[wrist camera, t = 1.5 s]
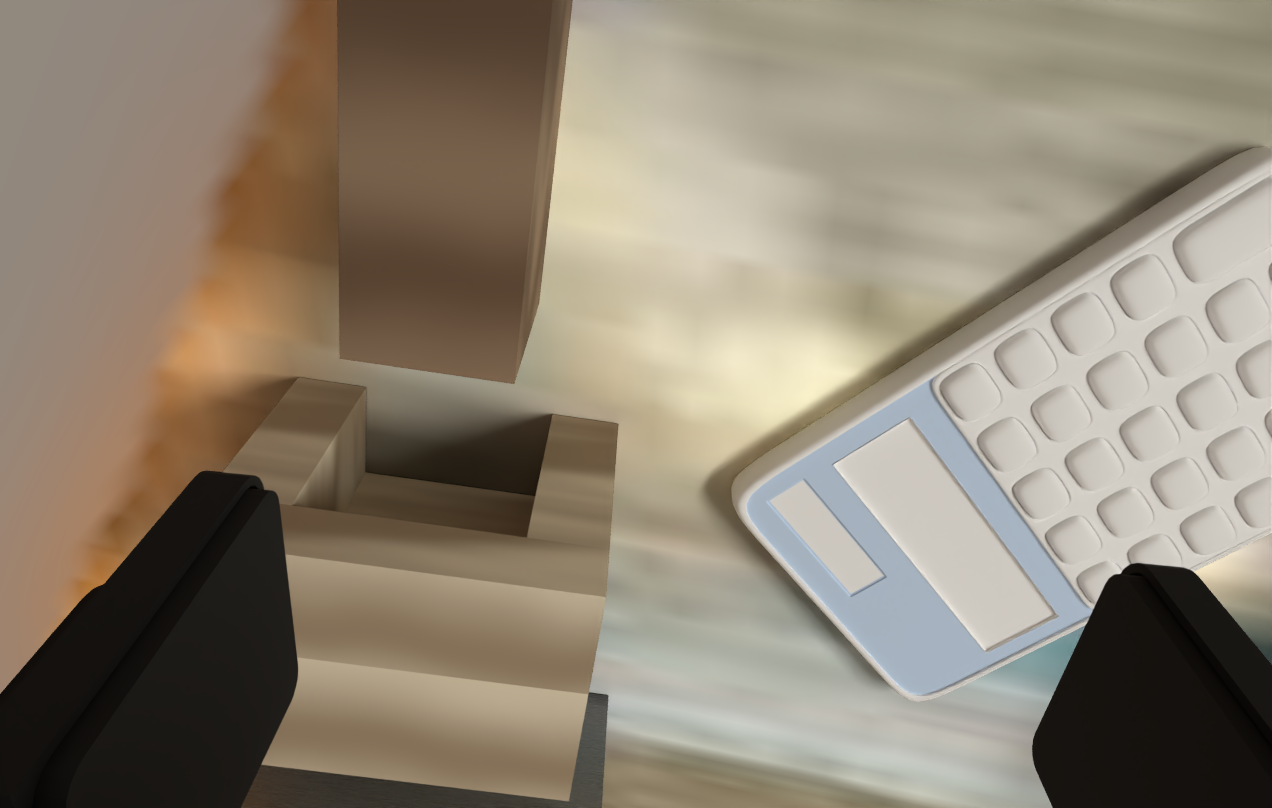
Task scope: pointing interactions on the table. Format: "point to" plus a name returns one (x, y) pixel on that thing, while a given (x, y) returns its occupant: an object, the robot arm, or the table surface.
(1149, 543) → the calculator
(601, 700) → the grey piece
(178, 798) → the robot arm
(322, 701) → the maple block
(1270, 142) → the table surface
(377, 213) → the walnut bar
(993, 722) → the table surface
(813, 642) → the table surface
